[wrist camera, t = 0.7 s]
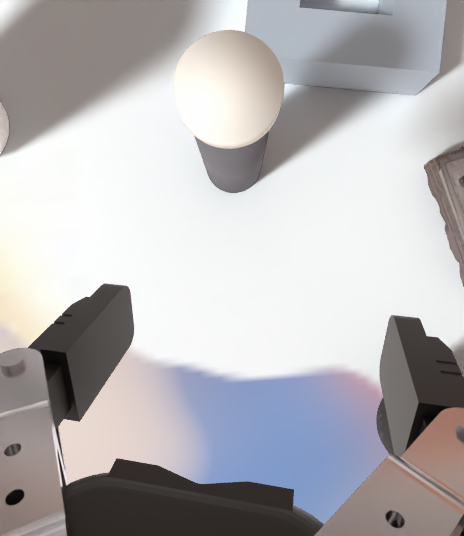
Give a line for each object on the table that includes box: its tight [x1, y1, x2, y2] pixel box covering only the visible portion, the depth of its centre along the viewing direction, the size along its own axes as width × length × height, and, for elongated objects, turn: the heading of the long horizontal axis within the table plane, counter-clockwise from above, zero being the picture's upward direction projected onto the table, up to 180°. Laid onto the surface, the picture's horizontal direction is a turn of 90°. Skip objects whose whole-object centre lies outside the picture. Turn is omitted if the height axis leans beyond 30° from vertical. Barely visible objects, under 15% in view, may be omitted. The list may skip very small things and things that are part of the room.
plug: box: [173, 30, 284, 193], centre depth 27 cm, size 5×5×15 cm
